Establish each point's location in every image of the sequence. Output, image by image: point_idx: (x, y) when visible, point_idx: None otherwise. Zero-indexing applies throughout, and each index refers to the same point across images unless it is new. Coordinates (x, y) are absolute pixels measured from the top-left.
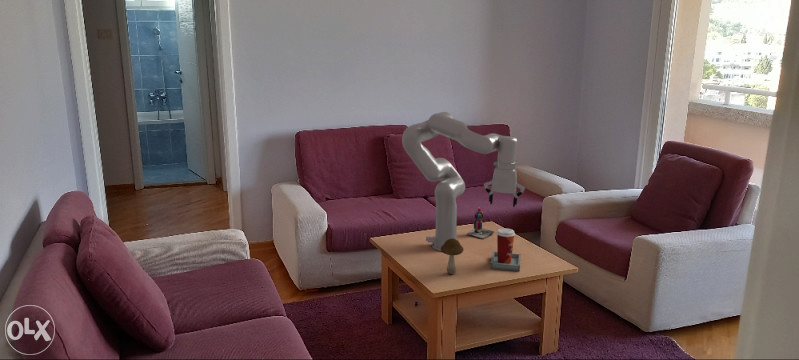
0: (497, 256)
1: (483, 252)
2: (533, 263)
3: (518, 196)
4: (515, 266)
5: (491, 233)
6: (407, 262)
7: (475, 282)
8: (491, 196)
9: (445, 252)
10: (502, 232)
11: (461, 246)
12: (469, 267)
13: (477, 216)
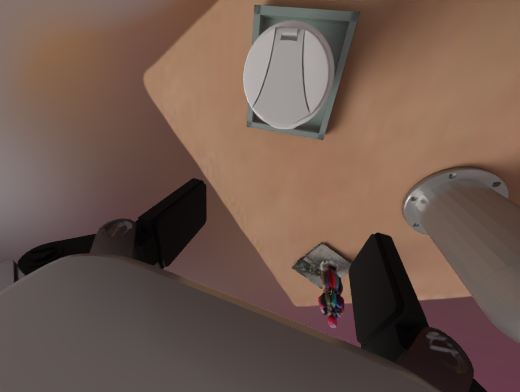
0: (311, 127)
1: (341, 167)
2: (221, 96)
3: (101, 233)
4: (269, 7)
5: (299, 263)
6: None
7: None
8: (408, 302)
9: None
10: (308, 39)
11: None
12: (438, 15)
13: (337, 299)
